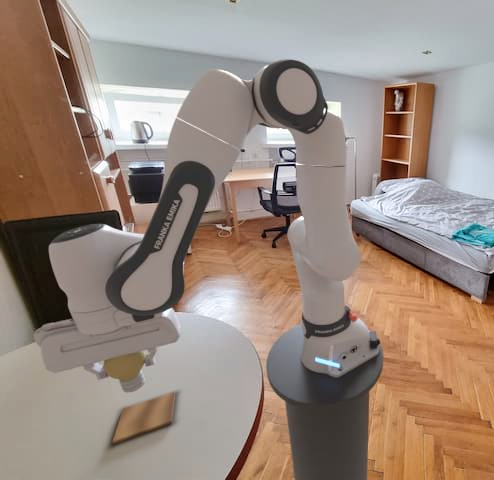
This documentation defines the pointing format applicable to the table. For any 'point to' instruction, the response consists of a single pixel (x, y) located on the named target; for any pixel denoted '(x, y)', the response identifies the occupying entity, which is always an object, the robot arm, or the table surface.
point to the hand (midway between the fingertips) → (128, 369)
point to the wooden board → (145, 417)
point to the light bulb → (127, 370)
